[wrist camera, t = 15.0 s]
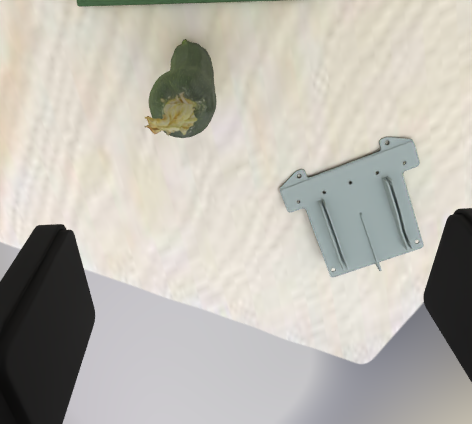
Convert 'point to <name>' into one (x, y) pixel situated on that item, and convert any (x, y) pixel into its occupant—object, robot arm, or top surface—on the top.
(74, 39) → the top surface
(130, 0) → the green rectangular slab
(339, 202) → the metal bracket
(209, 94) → the vegetable
